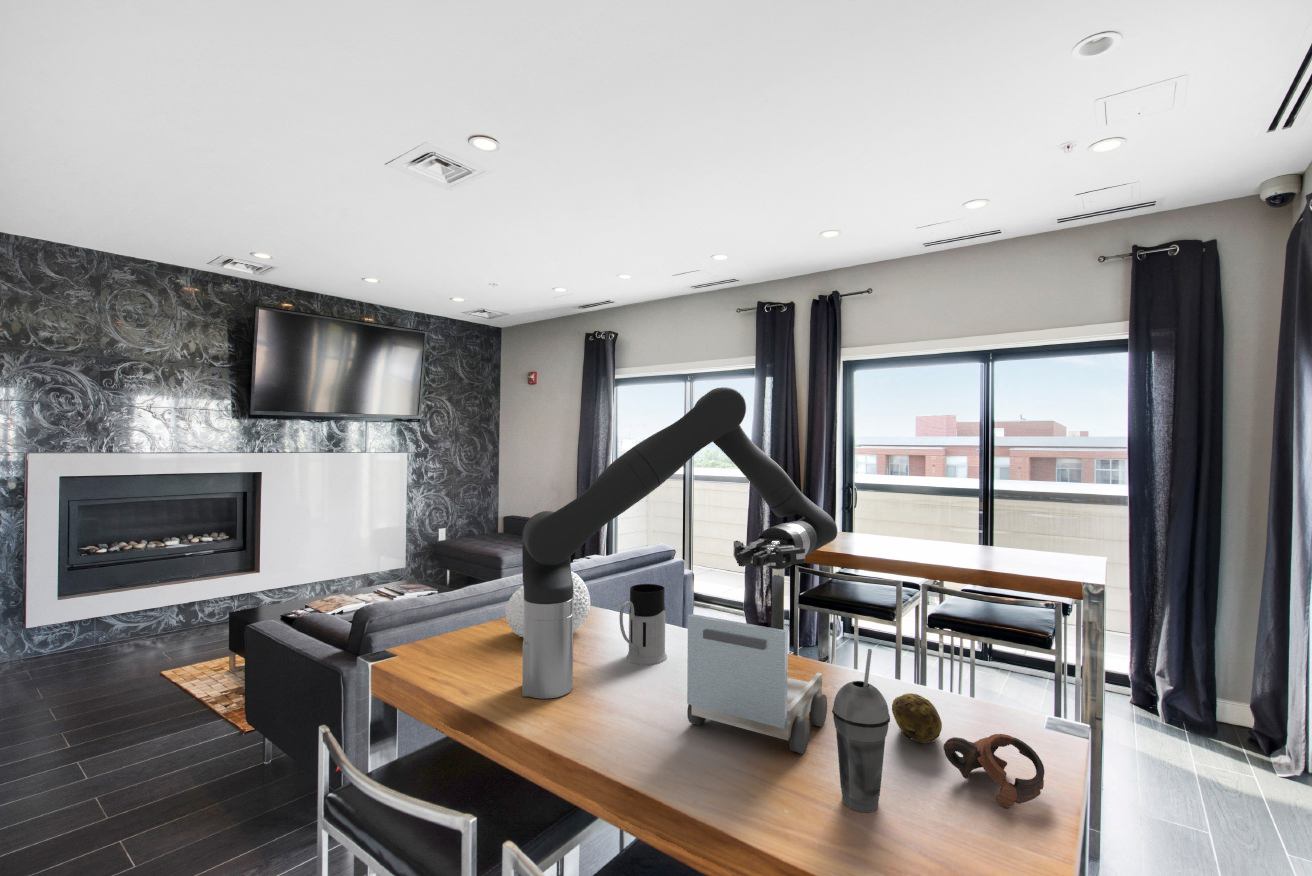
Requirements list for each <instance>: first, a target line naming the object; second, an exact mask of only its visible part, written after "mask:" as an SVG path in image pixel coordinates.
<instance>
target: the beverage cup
mask: <svg viewBox="0 0 1312 876" xmlns="http://www.w3.org/2000/svg"><path fill="white" fill-rule="evenodd" d="M872 652H873V649H871V648H867V655H866V656H867V657H866V663H865V670H864V679H863V680H853V681H850V682H848V683H846V684H844V685H843V686H841V687H840V689H839V690H838V691H837V692H836V695H835V698H834V701H833V706H832V710H831V712H832V714H833V715H832V716H833V723H834V728H835V731H836V733H835V734H836V744H837V745H836V746H837V756H838V770H839V771H838V772H839V784H840V788H841V789H840V790H841V798H842V799H841V800H842V802H843V804H844V805H845V806H846V807H848V808H849V809H851V810H854V811H856V812H861V813H871V812H874V811H876V810H878V808H879V801H880V800H879V799H880V797H881V786H882V776H883V767H884V765H883V764H884V757H885V756H884V755H885V746H886V745H885V744H886V737H887V736H888V730H889V724H890V722H891V716H890V712H889V711H890V710H889V706H888V703H887V700H886V698H885V697H884V695H883V694H882V692H881V691H880V690H879V689H878V688H877V687H875V686H874V685H873V684H871V683H869V679H870V671H871V669H870V668H871V661H872Z"/></svg>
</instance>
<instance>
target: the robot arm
mask: <svg viewBox="0 0 1312 876" xmlns="http://www.w3.org/2000/svg"><path fill="white" fill-rule="evenodd" d="M746 412H747V405H746V399H745V398H744V396H743V394H742V393H741V392H739V391H738V390H737V389H735V388H732V387H724V386H722V387H716V388H714V389H711V390H709V391H708V392H707V393H705V394H704V395H703V396H701V397H700V398H699V399H698V400H697V401H696V402H695V404H694V405H693V407H692V408H691V409H690V410H689V411H688V412H687V413H686V414H684V415H683V416H682V417H680V418H679V419H678V420H676V421H675V422H673V423H671V424H670V425H668V426H667V427H665V428H662V429H661V430H659V431H656V432H655V433H654V434H652V435H650V436H648V437H647V438H645V439H643V440H642V441H640V442H638V443H637V444H635V445H634V446H633V447H630V449H629V450H626V451H625V452H623V454H622V455H619V457H617V458H616V459H615V460H614V461H613V462H612V463H610V464H609V465H608V466H607V467H606V468H605V469H604V470H603V471H602V472H601V474H599V476H598V477H596V479H594V481H593V482H592V484H591V485H590V486H588V487H587V489H586V490H584V492H583V493H581V494H580V495H579V496H577V497H575V499H573V500H572V501H570V502H568V503H567V504H565V505H564V506H563V507H560V508H559V509H557V510H556V511H552V510H545V511H539V512H537V513H535V514H534V515H532V516H531V517H530V518H529V519H528V520H527V522H526V523H525V525H524V527H523V531H522V543H521V544H522V545H521V546H522V554H521V555H522V558H521V559H522V561H521V562H522V584H523V585H522V586H523V587H524V638H523V641H522V686H521V687H522V690H521V691H522V692H521V693H522V697H528V698H529V697H531V698H533V699H543V700H546V699H547V700H548V699H555V698H559V697H563V696H565V695H568V694H569V693H571V692H572V690H573V687H574V633H573V580H572V574H571V571H572V566H571V564H572V563H571V561H572V560H571V558H572V555H574V553H576V552H577V551H578V549H580V548H581V547H583V545H584V544H585V543H586V542H588V540H590V538H591V537H593V536H594V535H595V534H596V533H597V532H598V531H599V530H600V529H601V528H603V527H604V526H605V525H607V524H608V523H610V522H611V521H612V520H614V519H615V518H617V517H618V516H620V515H621V514H623V513H624V512H626V511H627V510H629V509H630V508H631V507H633V506H634V505H636V504H637V503H639V502H640V501H642V500H643V499H644V498H646V497H647V496H648V495H650V494H652V492H654V491H655V490H656V489H657V488H659V487H660V486H661V485H662V484H664V483H665V482H666V481H667V480H668V479H669V478H671V477H672V476H673V475H674V474H675V473H676V472H678V471H679V470H680V469H681V468H682V467H683V466H684V465H685V464H686V463H687V462H689V460H691V459H692V457H694V456H695V455H696V454H697V453H698V452H700V451H701V450H703V449H704V448H705V447H707V446H709V445H710V444H711V443H713V444H714V445H715V446H716V447H718V448H719V449H720V451H722V453H723V454H725V455H726V457H727V458H728V459H729V460H730V461H731V462H732V463H734V465H735V466H736V467H737V468H738V469H739V471H740V472H741V473H742V474H743V476H745V478H746V479H747V480H748V481H749V483H750V484H751V485H752V487H753V488H754V489H755V490H756V492H757V493H758V494H759V496H760V497H761V498H762V500H763V501H764V502H765V504H766V505H767V506H768V508H770V510H771V511H772V512H773V514H774V515H775V516H776V517H778V518H785V517H789V516H792V515H800V516H802V518H800V519H798V520H793V521H789V522H785V523H780V524H777V525H773V526H771V527H768V528H766V529H764V530H763V531H761V533H759V535H758V537H757V539H756V540H755V541H751V542H750V541H749V542H750V543H748V544H747V545H744V544H745V543H744V542H742V541H740V540H734V541H733V557H734V559H735V561H736V564H738V566H739V567H742V568H743V567H746V566H748V565H750V564H752V568H753V569H760V568H762V567H764V566H766V567H768V568H769V569H772V570H784V569H787V568H788V567H790V566H793V565H800V564H802V565H803V564H805V563H806V556H809V555H810V554H812V553H814V552H816V551H818V550H819V549H821V548H822V547H824V546H826V545H828V544H830V543H831V542H833V541H834V540H835V539H836V538H837V536H838V526H837V524H836V522H835V520H834V519H833V517H832V516H831V515H830V514H828V512H826V511H825V510H824V509H822V508H821V507H820V506H818V505H817V504H815V503H814V502H813V501H812V500H810V499H809V498H808V497H807V496H806V495H805V494H803V493H802V491H800V489H799V488H798V487H797V485H796V484H795V483H794V482H793V481H794V480H792V479H791V477H790V476H789V475H788V474H787V472H786V471H785V470H784V469H783V468H782V467H781V466H780V465H779V464H778V463H777V462H776V461H775V460H773V459H772V458H771V457H770V456H769V455H768V454H767V453H765V452H764V451H763V450H762V449H761V448H760V447H758V446H757V445H756V444H755V442H753V441H752V439H750V438H749V436H748V435H747V434H746V432H745V431H744V429H743V428H742V426H741V424H742V422H743V421H744V419H745V417H746Z"/></svg>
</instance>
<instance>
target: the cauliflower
mask: <svg viewBox="0 0 1312 876" xmlns="http://www.w3.org/2000/svg"><path fill="white" fill-rule="evenodd" d="M571 574H572V580H573V634H574V632H575V631H578V629H579V628H581V627H582V626H583V625H584V624H585V623H586V621H587V619H588V616H589V614H590V609H591V602H592V601H591V596H590V592H589V589H588V587H587V585H586V583H585V582H584V580H583V578H581V577H580V576H579V574H577V573H575V572H574V571H572V570H571ZM504 609H505V612H504V614H505V616H506V617H505V620H507V624H508V625H509V627H510V629H511V630H512V631H513V633H514V634H515V635H517V636H518V637H519V638H521V637H522V639H524V587H523V585H522V586H521V587H518V589H517V590H515V592H514V593H513V594H512V595H511V597H509V600H508V601H507V604H505V607H504Z"/></svg>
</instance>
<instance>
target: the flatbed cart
mask: <svg viewBox="0 0 1312 876" xmlns="http://www.w3.org/2000/svg"><path fill="white" fill-rule="evenodd" d="M686 710H687V711H686V714H687V716H686V717H687V721H688V722H689V723H691V724H693V725H697V726H703V725H704V724H705V723H706V720H710V721H713V722H714V721H715V722H718V723H721V724H726V725H730V726H732V727H737V728H741V729H744V730H748V731H752V732H755V733H758V734H762V735H766V736H770V737H773V738H778V739H782V740H783V741H784V740H785V741H788V745H789V749H790V751H791V752H794V753H798V754H801V755H804V754H805V753H806V751H807V748H808V745H809V740H810V725H811V726H816V727H820V728H823V726H824V725H825V724H826V723H825V722H826V719H827V714H828V698H827V695H826V694H823V673H821V672H816V674H815V675H814V676H813V677H812V678H811V679H810V681H807V680H806V681H805V680H802V679H796V678H792V677H787V727H786V728H785V729H782V728H779V727H775V726H771V725H767V724H763V723H759V722H755V721H752V720H748V719H744V718H740V717H736V716H732V715H729V714H725V713H721V712H717V711H713V710H709V709H705V708H702V707H698V706H694V705H690V704H687V709H686ZM807 717H808V718H807Z"/></svg>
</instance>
